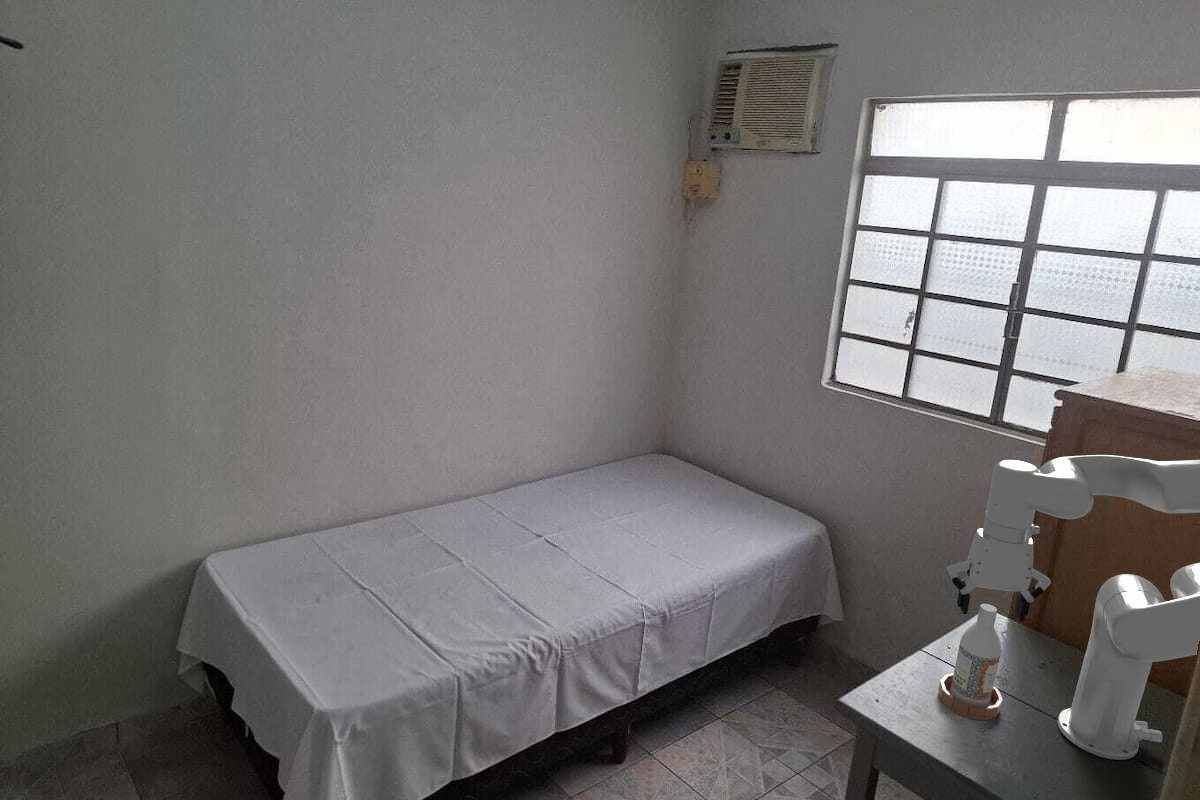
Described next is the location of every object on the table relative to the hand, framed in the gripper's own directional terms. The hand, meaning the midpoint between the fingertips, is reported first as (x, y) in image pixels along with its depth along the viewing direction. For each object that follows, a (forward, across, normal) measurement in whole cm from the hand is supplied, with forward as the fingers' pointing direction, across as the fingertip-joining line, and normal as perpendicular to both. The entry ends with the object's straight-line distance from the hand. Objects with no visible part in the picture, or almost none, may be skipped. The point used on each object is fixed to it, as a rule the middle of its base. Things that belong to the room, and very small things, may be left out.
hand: (990, 613), depth 146 cm
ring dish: (+19, +1, 0) cm, 19 cm away
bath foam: (+19, +1, 0) cm, 19 cm away
